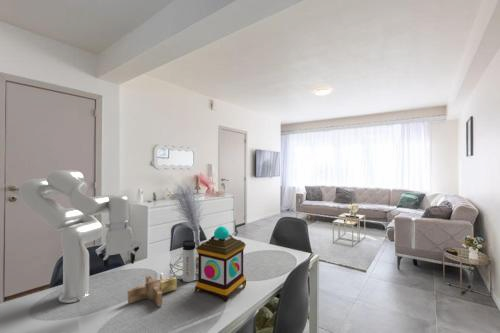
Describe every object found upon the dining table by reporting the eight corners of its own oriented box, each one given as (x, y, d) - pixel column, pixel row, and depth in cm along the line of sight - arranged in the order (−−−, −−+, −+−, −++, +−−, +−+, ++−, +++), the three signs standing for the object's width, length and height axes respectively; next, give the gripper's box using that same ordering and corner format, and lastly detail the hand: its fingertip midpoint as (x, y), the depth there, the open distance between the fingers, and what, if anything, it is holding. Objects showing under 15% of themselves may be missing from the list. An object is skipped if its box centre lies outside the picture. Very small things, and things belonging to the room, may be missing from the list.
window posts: (159, 283, 119) (159, 273, 119) (170, 280, 123) (170, 270, 123) (162, 288, 115) (162, 277, 115) (174, 284, 118) (174, 274, 118)
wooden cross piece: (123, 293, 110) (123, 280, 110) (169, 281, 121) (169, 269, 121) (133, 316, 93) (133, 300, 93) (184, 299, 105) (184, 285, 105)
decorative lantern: (216, 276, 129) (216, 219, 129) (250, 285, 120) (250, 224, 120) (190, 294, 112) (190, 228, 111) (227, 306, 102) (227, 234, 102)
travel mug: (189, 277, 129) (190, 238, 129) (198, 281, 124) (198, 241, 124) (179, 281, 124) (179, 241, 124) (187, 285, 120) (187, 244, 120)
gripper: (95, 230, 97) (96, 274, 97) (142, 223, 107) (143, 263, 107) (94, 226, 103) (95, 267, 103) (138, 220, 113) (139, 258, 113)
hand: (119, 265), depth 105 cm, fingers open, 9 cm apart
